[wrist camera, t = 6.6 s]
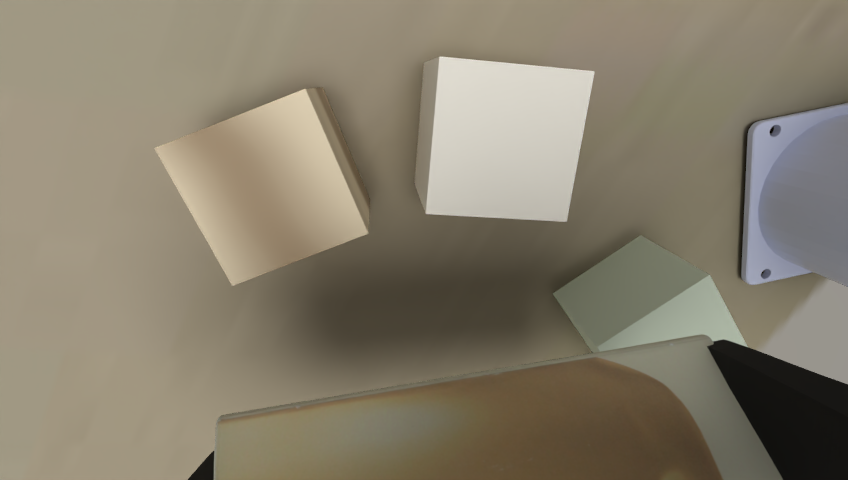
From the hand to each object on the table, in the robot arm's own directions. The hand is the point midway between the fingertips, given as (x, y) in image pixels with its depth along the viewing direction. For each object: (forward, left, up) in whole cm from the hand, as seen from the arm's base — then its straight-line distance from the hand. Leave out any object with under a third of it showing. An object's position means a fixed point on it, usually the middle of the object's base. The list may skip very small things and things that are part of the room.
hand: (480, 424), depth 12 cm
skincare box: (-6, +2, 0) cm, 7 cm away
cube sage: (-9, +4, -10) cm, 14 cm away
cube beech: (+5, -6, -10) cm, 13 cm away
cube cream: (-3, -6, -10) cm, 12 cm away
